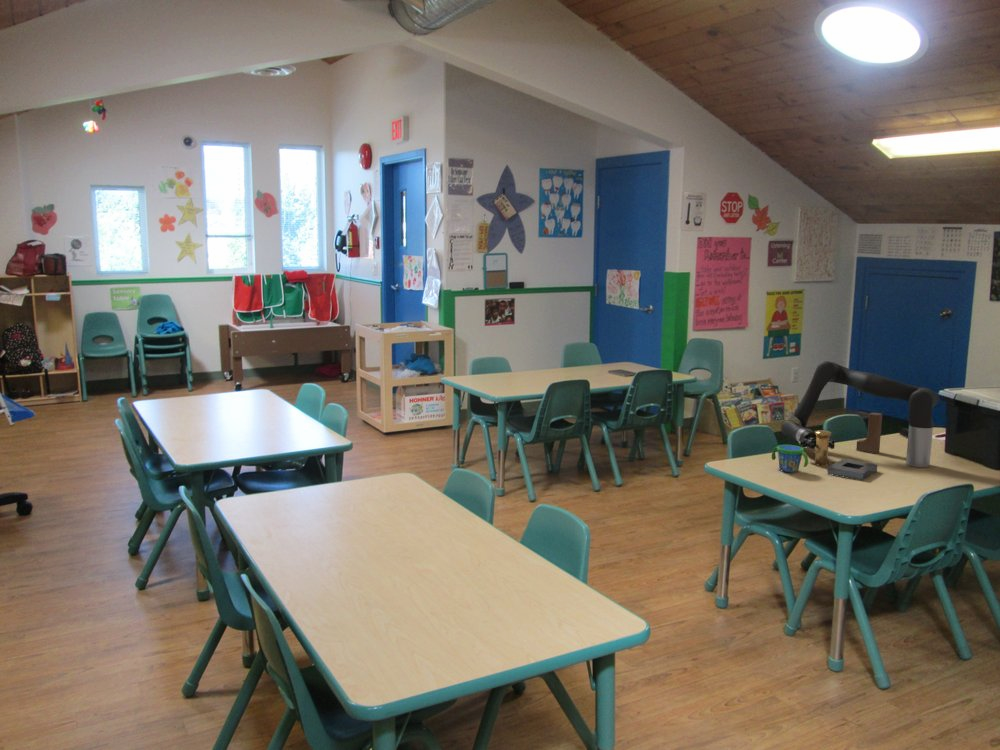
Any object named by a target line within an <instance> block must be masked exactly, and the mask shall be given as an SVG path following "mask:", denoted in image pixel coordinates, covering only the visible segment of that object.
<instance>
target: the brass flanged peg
mask: <svg viewBox="0 0 1000 750" xmlns="http://www.w3.org/2000/svg"><path fill="white" fill-rule="evenodd" d="M814 432H815V435H817V438H816V447H815V454H814V464H815V463H816V464H819V465H818V466H822V465H824V466H828V460H829V459H828V457H829V456H828V455H829V447H828V444H829V439H830V437H831V436H832V431H829V430H823V429H822V430H821V429H820V430H819V429H818V430H817V429H816V430H814ZM816 464H815V465H816Z"/></svg>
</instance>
